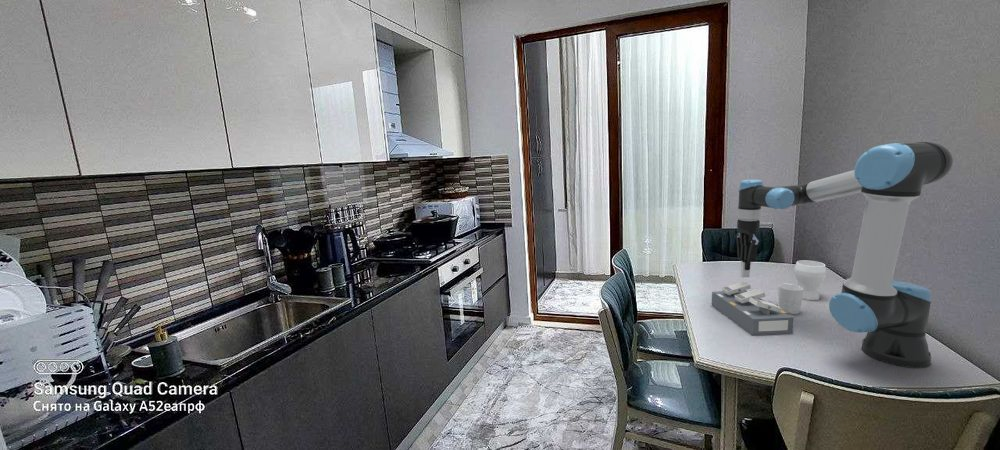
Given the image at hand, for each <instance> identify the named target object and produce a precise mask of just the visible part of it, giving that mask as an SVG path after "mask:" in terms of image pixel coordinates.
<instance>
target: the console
mask: <svg viewBox="0 0 1000 450" xmlns="http://www.w3.org/2000/svg"><path fill="white" fill-rule="evenodd" d="M744 292H748V290H744V291H741V292H737V293H734V294H731V295H728V294H726V293H725V292H723V291H722V290H719V291H718V290H717V291H711V307H713V308H714V309H716V310H717V311H719V313H721V314H723V315H724V316H725V317H727V318H728V319H730V320H731V321H732V322H734V323H735V324H737V325H738V326H739V327H740V328H742V329H743V330H745V331H746V332H747V333H749V334H750V335H751V336H763V335H765V336H766V335H782V334H783V335H785V334H786V335H787V334H793V333H794V332H793V330H794V321H795V318H794V316H793V315H792V314H789V313H786V312H784V311H782V310H781V311H780V312H776V311H773V310H769V309H766V308H762V307H759V306H756V305H754V304H752V303H751V302H749V301H748V302H745V303H740V302H739V301H737V300H736V299H735V296H734V295H738V294H741V293H744ZM758 300H762V301H765V302H767V301H766V300H764V299H762V298H758Z"/></svg>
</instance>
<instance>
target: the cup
mask: <svg viewBox="0 0 1000 450" xmlns="http://www.w3.org/2000/svg"><path fill="white" fill-rule="evenodd" d="M793 272H794V276H795V279H796V280H797V282H798V283H797V285H798V286H801V287H803V295H802V300H807V301H818V300H820V291H819V289H820V286H821V284H822V283H823V282H824V280H825V278H826V275H827V267H826V264H825V263H823V262H820V261H817V260H816V261H815V260H806V259H805V260H802V259H801V260H797V261H796V263H795V265H794V271H793Z"/></svg>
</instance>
